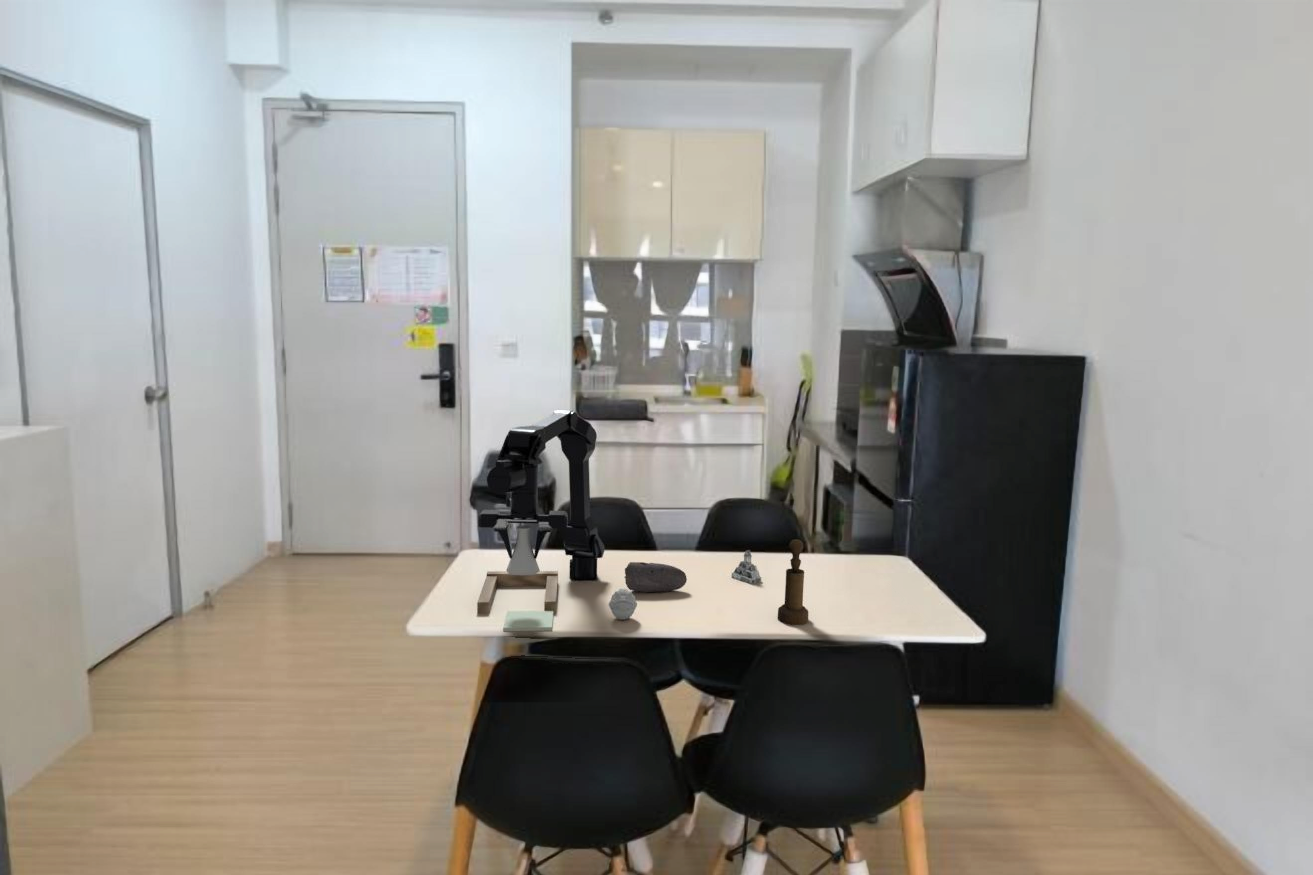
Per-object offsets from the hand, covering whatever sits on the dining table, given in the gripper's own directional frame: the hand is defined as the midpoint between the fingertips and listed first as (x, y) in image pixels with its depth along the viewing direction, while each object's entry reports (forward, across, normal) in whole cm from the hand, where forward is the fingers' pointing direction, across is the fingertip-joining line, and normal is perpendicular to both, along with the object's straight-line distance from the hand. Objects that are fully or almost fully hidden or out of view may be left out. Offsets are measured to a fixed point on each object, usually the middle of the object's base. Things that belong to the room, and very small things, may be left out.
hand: (523, 558), depth 183 cm
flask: (+3, 0, 0) cm, 3 cm away
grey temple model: (+12, -56, -27) cm, 64 cm away
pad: (+13, -2, +5) cm, 14 cm away
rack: (+12, +2, -12) cm, 17 cm away
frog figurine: (+13, -22, +3) cm, 25 cm away
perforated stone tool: (+12, -30, -16) cm, 36 cm away
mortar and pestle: (+12, -59, +4) cm, 60 cm away
